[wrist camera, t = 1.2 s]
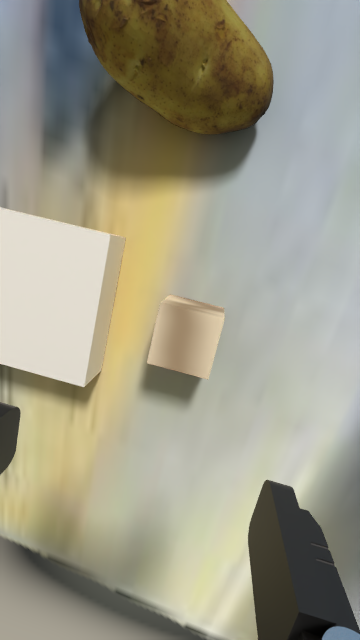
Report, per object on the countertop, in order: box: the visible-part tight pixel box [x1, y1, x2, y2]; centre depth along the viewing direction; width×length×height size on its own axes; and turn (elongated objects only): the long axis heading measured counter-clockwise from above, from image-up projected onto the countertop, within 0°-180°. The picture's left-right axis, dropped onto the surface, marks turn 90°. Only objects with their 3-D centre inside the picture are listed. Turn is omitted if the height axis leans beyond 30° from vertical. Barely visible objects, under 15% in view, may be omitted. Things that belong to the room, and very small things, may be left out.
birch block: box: [147, 295, 225, 379], centre depth 26 cm, size 5×5×5 cm
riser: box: [0, 207, 126, 387], centre depth 28 cm, size 14×13×4 cm
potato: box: [79, 0, 273, 134], centre depth 21 cm, size 8×13×8 cm, turn 44°
